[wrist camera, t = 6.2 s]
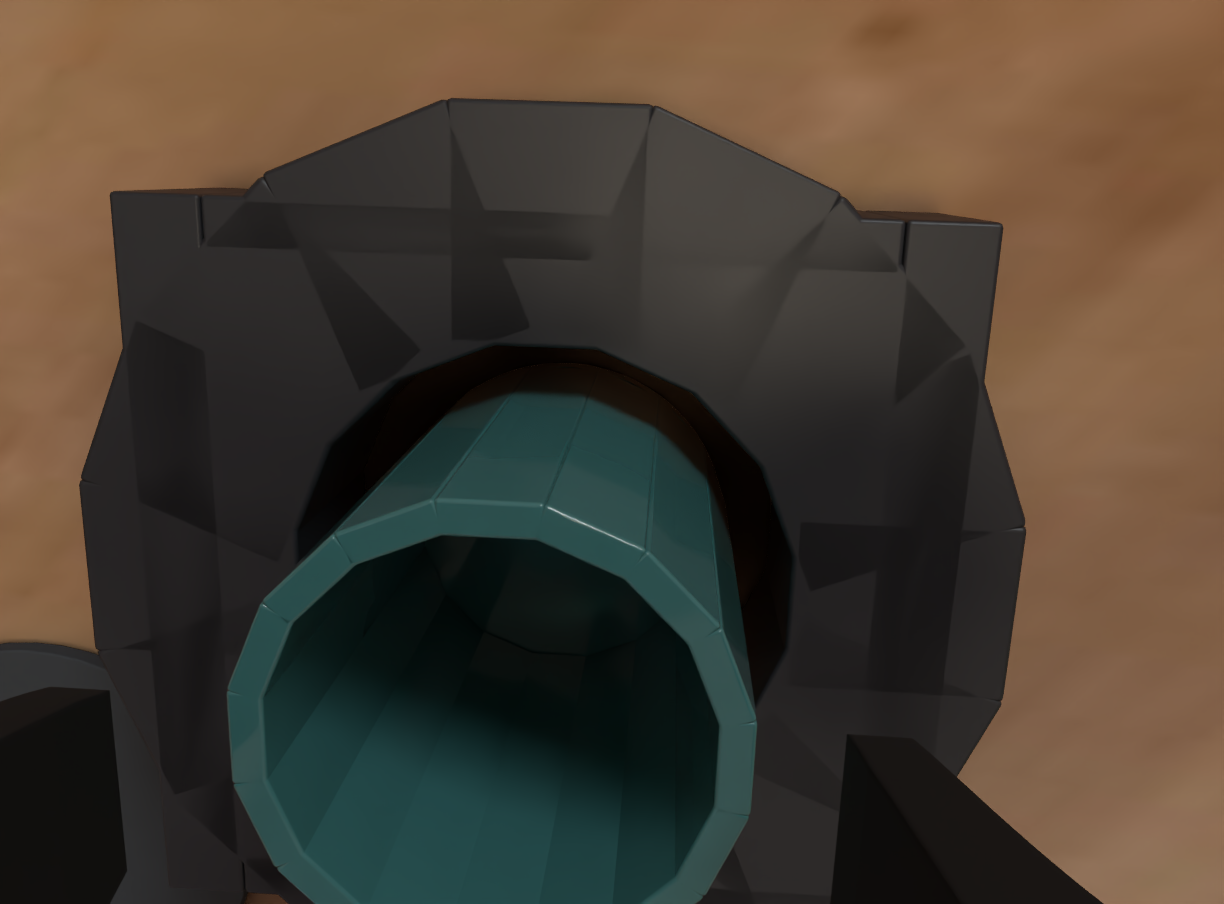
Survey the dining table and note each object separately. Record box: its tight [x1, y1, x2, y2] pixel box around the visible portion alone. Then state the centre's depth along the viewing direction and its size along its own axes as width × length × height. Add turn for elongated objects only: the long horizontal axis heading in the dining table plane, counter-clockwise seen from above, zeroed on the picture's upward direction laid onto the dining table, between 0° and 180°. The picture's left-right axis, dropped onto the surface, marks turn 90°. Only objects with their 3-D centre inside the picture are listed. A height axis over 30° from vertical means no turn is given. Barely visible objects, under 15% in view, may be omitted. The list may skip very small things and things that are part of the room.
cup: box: [227, 363, 758, 904], centre depth 15 cm, size 6×6×8 cm
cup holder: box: [79, 98, 1026, 904], centre depth 17 cm, size 14×14×4 cm
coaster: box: [0, 643, 248, 904], centre depth 21 cm, size 8×8×1 cm
